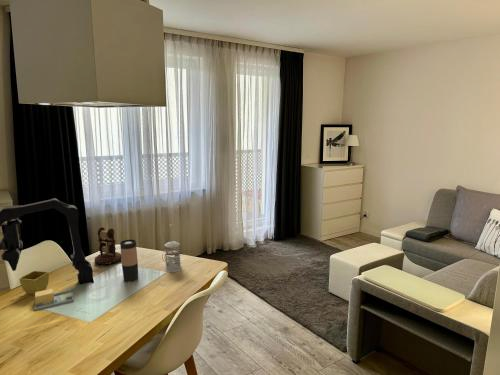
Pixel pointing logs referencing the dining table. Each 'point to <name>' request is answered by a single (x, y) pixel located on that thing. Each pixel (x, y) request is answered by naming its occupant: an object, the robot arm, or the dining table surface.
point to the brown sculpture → (107, 247)
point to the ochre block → (44, 296)
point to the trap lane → (57, 297)
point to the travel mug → (129, 260)
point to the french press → (176, 259)
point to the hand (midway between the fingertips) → (15, 267)
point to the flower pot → (34, 282)
